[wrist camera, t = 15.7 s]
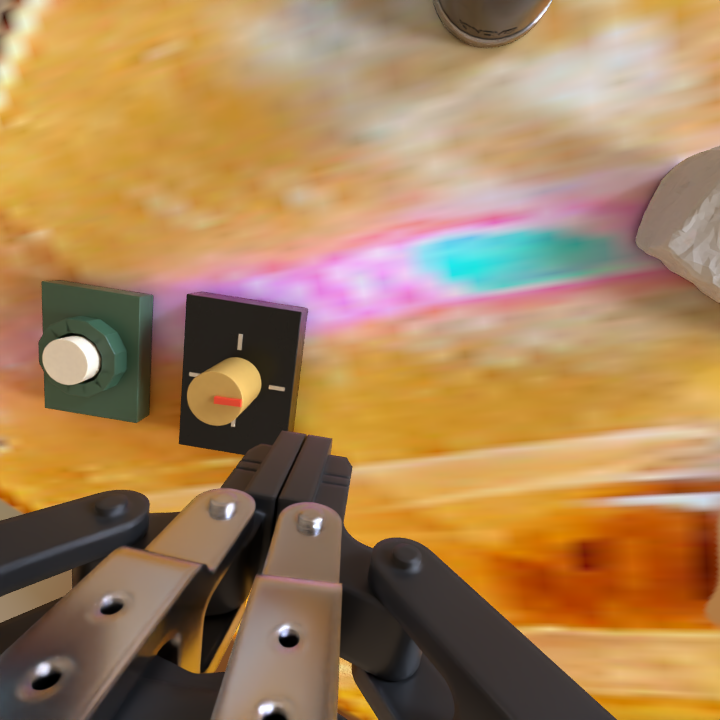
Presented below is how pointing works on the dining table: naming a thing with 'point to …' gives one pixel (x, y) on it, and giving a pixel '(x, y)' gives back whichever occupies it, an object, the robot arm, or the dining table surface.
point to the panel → (258, 346)
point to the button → (71, 360)
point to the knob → (224, 391)
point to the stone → (687, 222)
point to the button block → (101, 348)
